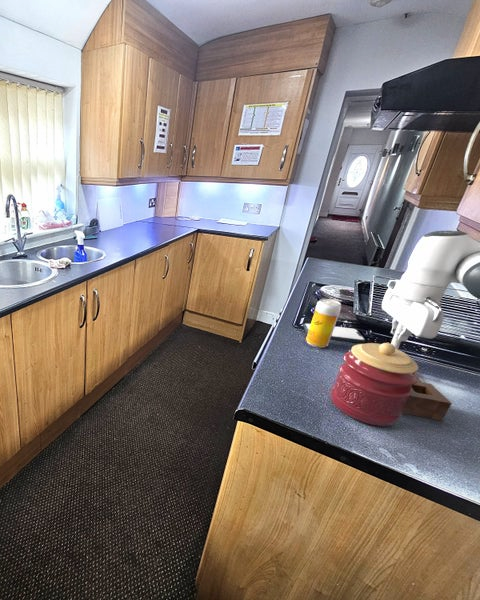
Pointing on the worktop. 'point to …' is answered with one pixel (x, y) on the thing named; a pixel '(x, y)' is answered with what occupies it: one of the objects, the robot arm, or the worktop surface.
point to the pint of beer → (323, 322)
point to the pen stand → (426, 402)
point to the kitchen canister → (374, 383)
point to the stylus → (395, 341)
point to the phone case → (343, 334)
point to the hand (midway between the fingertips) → (397, 337)
